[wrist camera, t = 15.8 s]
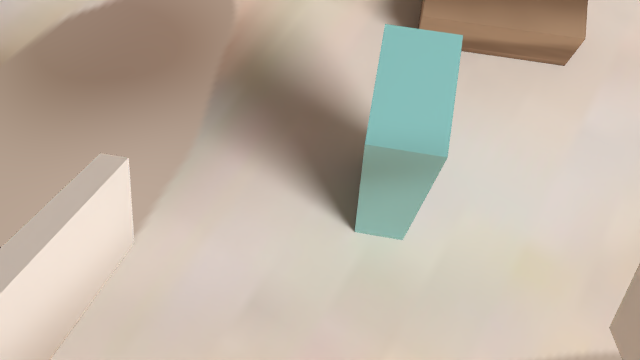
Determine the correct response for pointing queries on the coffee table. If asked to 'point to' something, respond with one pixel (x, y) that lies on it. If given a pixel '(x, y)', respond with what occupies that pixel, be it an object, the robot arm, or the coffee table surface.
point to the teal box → (407, 127)
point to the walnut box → (511, 26)
